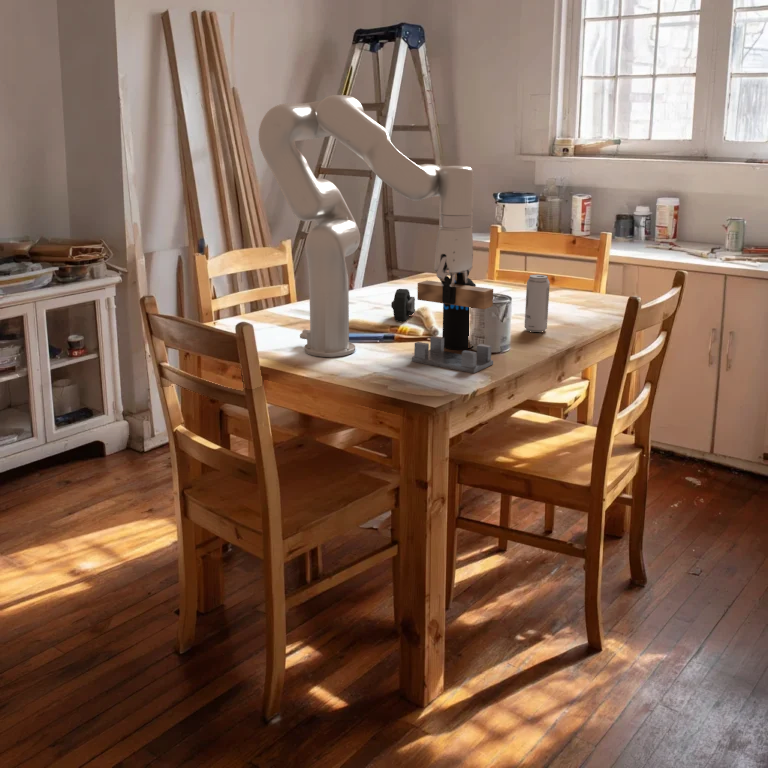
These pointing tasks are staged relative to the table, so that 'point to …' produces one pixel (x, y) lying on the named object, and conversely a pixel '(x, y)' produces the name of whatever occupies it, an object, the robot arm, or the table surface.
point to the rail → (457, 294)
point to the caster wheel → (403, 305)
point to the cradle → (452, 356)
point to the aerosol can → (456, 325)
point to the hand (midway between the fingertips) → (454, 300)
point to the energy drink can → (537, 303)
